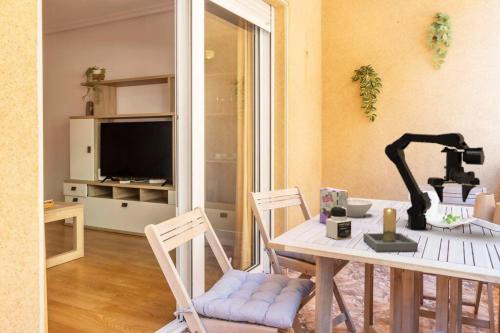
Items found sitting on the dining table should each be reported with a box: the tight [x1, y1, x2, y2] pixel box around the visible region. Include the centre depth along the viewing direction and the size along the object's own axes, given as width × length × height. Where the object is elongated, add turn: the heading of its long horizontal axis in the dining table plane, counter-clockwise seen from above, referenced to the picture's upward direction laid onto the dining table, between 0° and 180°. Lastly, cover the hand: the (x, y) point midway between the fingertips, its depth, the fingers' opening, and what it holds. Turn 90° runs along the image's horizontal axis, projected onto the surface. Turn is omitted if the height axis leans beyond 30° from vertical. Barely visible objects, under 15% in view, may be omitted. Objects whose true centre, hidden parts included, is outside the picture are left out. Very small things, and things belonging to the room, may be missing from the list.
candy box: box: [319, 186, 349, 225], centre depth 177 cm, size 14×6×16 cm, turn 24°
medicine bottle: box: [325, 207, 352, 241], centre depth 155 cm, size 7×7×12 cm
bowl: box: [347, 198, 373, 218], centre depth 197 cm, size 16×16×7 cm
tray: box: [363, 232, 419, 253], centre depth 142 cm, size 14×14×3 cm
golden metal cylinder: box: [382, 207, 397, 243], centre depth 142 cm, size 4×4×13 cm
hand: (452, 202), depth 158 cm, fingers open, 9 cm apart
